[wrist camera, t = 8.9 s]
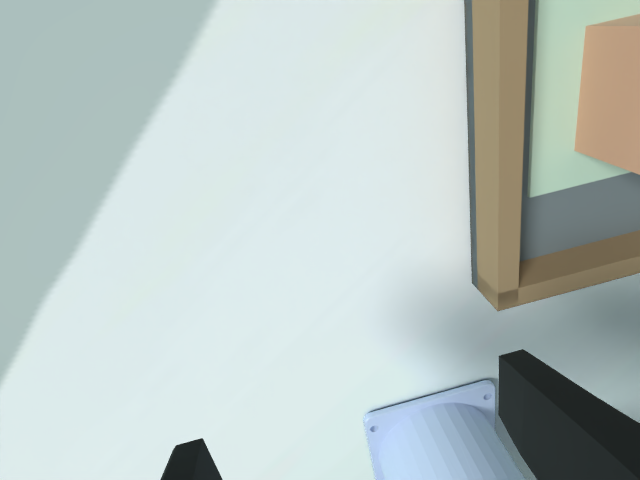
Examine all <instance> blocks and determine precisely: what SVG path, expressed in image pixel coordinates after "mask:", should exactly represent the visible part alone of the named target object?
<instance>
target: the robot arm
mask: <svg viewBox="0 0 640 480" xmlns="http://www.w3.org/2000/svg"><path fill="white" fill-rule="evenodd" d="M499 416H500V418H501V420H502V422H503V423H504V425H505V427H506V429H507V431H508V433H509V435H510V437H511V438H512V440H513V442H514V444H515V446H516V447H517V449H518V451H519V453H520V454H521V456H522V458H523V459H524V461H525V462H526V464H527V465H528V467H529V468H530V469H531V471H532V472H533V474H534V475H535V477H536V478H537V480H640V423H638V422H636V421H635V420H633V419H631V418H630V417H628V416H626V415H625V414H623V413H622V412H620V411H618V410H617V409H615V408H613V407H612V406H610V405H609V404H607V403H605V402H604V401H602V400H600V399H599V398H597V397H596V396H594V395H592V394H591V393H589V392H588V391H586V390H585V389H583V388H582V387H580V386H578V385H577V384H575V383H574V382H572V381H571V380H569V379H568V378H566V377H565V376H563V375H562V374H560V373H559V372H557V371H556V370H554V369H552V368H551V367H549V366H548V365H546V364H545V363H543V362H542V361H540V360H539V359H537V358H536V357H534V356H533V355H531V354H530V353H528V352H526V351H525V350H523V349H522V350H519V351H515V352H511V353H508V354H504V355H501V356H499ZM363 421H364V426H365V431H366V436H367V440H368V445H369V450H370V455H371V460H372V465H373V469H374V474H375V479H376V480H526V479H525V478H524V476H523V475H522V473H521V472H520V470H519V468H518V467H517V465H516V464H515V462H514V461H513V459H512V457H511V456H510V454H509V453H508V451H507V450H506V448H505V446H504V445H503V443H502V442H501V440H500V439H499V437H498V435H497V434H496V432H495V386H494V384H493V383H492V382H491V381H490V380H484V381H480V382H477V383H473V384H470V385H466V386H462V387H459V388H455V389H452V390H448V391H445V392H441V393H437V394H434V395H430V396H427V397H423V398H420V399H416V400H413V401H409V402H405V403H402V404H398V405H395V406H391V407H388V408H384V409H380V410H377V411H373V412H370V413H368V414H366V415H365V417H364V419H363ZM161 480H222V478H221V476H220V474H219V471H218V469H217V467H216V465H215V463H214V461H213V459H212V457H211V455H210V453H209V451H208V449H207V446H206V444H205V442H204V440H203V438H201V439H198V440H194V441H190V442H187V443H183V444H180V445H176V447H175V448H174V449H173V451H172V454H171V456H170V459H169V461H168V463H167V466H166V468H165V470H164V473H163V475H162V478H161Z"/></svg>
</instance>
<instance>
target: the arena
mask: <svg viewBox="0 0 640 480" xmlns="http://www.w3.org/2000/svg"><path fill="white" fill-rule="evenodd" d="M535 2H536V0H464V4H465V41H466V78H467V116H468V153H469V191H470V228H471V266H472V284H473V285H474V286H475V287H476V288H477V289H478V290H479V291H480V292H481V293H482V294H483V296H484V297H485V298H486V299H487V300H488V301H489V302H490V303H491V304H492V305H493V307H494V308H495V309H496V310H497V311H500V310H504V309H508V308H511V307H515V306H519V305H522V304H526V303H530V302H534V301H537V300H541V299H545V298H548V297H552V296H556V295H560V294H563V293H567V292H571V291H574V290H578V289H582V288H585V287H589V286H593V285H597V284H600V283H604V282H608V281H611V280H615V279H619V278H622V277H626V276H630V275H634V274H637V273H640V175H639V174H636V173H633V172H630V173H626V174H622V175H618V176H614V177H610V178H606V179H602V180H598V181H594V182H590V183H586V184H582V185H578V186H574V187H571V188H567V189H563V190H559V191H555V192H551V193H547V194H543V195H539V196H535V197H531V198H530V197H528V196H527V194H528V170H529V146H530V122H531V98H532V74H533V50H534V26H535Z"/></svg>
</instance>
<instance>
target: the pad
mask: <svg viewBox="0 0 640 480" xmlns="http://www.w3.org/2000/svg"><path fill="white" fill-rule="evenodd" d="M637 14H640V0H536V2H535V26H534V50H533V74H532V98H531V122H530V146H529V170H528V194H527V196H528V197H530V198H531V197H535V196H539V195H543V194H547V193H551V192H555V191H559V190H563V189H567V188H571V187H574V186H578V185H582V184H586V183H590V182H594V181H598V180H602V179H606V178H610V177H614V176H618V175H622V174H626V173H630V172H631V171H628V170H625V169H623V168H620V167H617V166H614V165H612V164H609V163H606V162H604V161H601V160H598V159H596V158H593V157H590V156H587V155H585V154H582V153H579V152H577V151H574V148H575V137H576V126H577V115H578V104H579V93H580V83H581V72H582V61H583V50H584V39H585V28H586V26H588V25H593V24H597V23H602V22H606V21H610V20H615V19H619V18H624V17H628V16H632V15H637Z"/></svg>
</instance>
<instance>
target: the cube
mask: <svg viewBox="0 0 640 480" xmlns="http://www.w3.org/2000/svg"><path fill="white" fill-rule="evenodd" d="M574 151H577V152H579V153H582V154H585V155H587V156H590V157H593V158H596V159H598V160H601V161H604V162H606V163H609V164H612V165H614V166H617V167H620V168H623V169H625V170H628V171H631V172H633V173H636V174H639V175H640V14H637V15H632V16H628V17H624V18H619V19H615V20H610V21H606V22H602V23H597V24H593V25H588V26H586V28H585V39H584V50H583V61H582V72H581V83H580V93H579V104H578V115H577V126H576V137H575V148H574Z"/></svg>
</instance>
